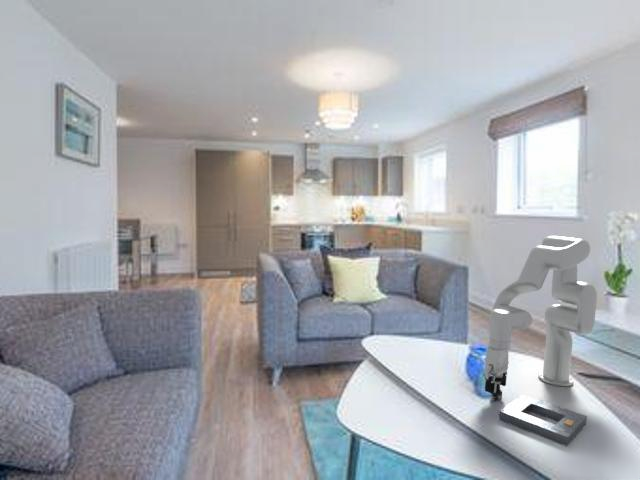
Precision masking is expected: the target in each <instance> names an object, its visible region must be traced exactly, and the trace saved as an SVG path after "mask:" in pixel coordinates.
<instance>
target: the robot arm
mask: <svg viewBox="0 0 640 480" xmlns="http://www.w3.org/2000/svg"><path fill="white" fill-rule="evenodd" d="M590 252H591V246H590V244H589V242H588V241H587V240H585V239H582V238H579V237H578V238H575V237H569V236H568V237H567V236H559V235H549V236H545V237H544V238H543V239H542V242H541V245H537V246H534V247H533V248H531V250H530V252H529V254H528V256H527V258H526V261H525V263H524V265H523V267H522V269H521V271H520V274H519V276H518V278H517V279H516V280H515V281H513V282H511V283H509V284H508V285H507V286H506V287H504V288H503V289H502V291H501V290H500V293H498V295H497V298H496V299H495V302H494V304H493V307H492V310H491V311H490V313H489V323H488V334H487V335H488V338H487V350H486V354H485V362H484V368H483V372H484V381H485V382H484V391H485V392H486V393H490V394H491V393H492V394H493V393H494V387H495V383H494V380H495V378H496V377H497V376H499V375H501V374H503V375H505V379H504V381H503V382H500V386H503V387H505V386H506V385H507V375H508V368H509V351H510V350H511V340H512V339H511V337H512V331H513V330H514V331H522V330H527V329H528V328H530V327H531V325H532V323H533V317H532V315H531V313H530V312H529V311H527V310H525V309H523V308H519V307H515V306H511V305H510V304H511V303H512V301H513V300H514V299H515V298H517V297H518V296H521V295H524V294H528V293H532V292H537V291H539V290H541V289H542V288H543V285H544V283H545V281H546V279H547V275H548V274H549V271H550V270H552V282H551V283H552V284H551V297H552V298H553V299H554V300H556V301H557V302H561V303H564V304H560V303H554V304H550V305H548V306H547V308H546V310H545V312H544V318H545V320H544V321H545V328H546V330H545V331H546V332H545V346H544V358H543V371H541V372H540V371H539V373H538V378H539V379H540V380H541V381H542V382H544V383H546V384H549V385H552V386H557V387H571V386H573V385H574V380H573V378H572V377H571V376H570V371H571V363H572V351H573V337H572V334H571V333H574V334H578V335H582V336H583V335H585V336H586V335H589V334H591V332H592V331H593V329H594V326H595V321H596V310H597V301H598V294H597V289H596V287H595V286H594V285H593V284H592V283H589V282H586V281H579V280H578V265H579V264H581V263H583V262H584V261H585V260H586V259H587V258H588V257H589V256H590ZM565 303H566V304H570V305H573V306H569V305H565ZM574 306H576V307H574ZM570 332H571V333H570ZM492 373H494V374H492ZM490 376H493V377H492V379H491V377H490Z"/></svg>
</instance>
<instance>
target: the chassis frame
mask: <svg viewBox="0 0 640 480" xmlns="http://www.w3.org/2000/svg"><path fill="white" fill-rule="evenodd" d="M530 413H534V414H536V415H538V416H542V417H545V418H547V419H550V420H552V421H555V422H557V423H556V424H555V423H553V422H549V421H546V420H544V419H542V418H540V417H536V416H533V415H530ZM499 419H500V420H499ZM498 420H499V421H501V420H502V422H504V421H505V422H504V423H506V422H507V424H509V423H510V425H511V424H512V426H514V427H516V426H517V428H519V429H522V430H524V431H527V432H530V433H532V434H535V435H536V436H537V435H538V436H540V437H542V438H544V439H547V440H550V441H551V442H552V441H553V442H554V443H557V444H560V445H562V446H565V447H568V446H569V445H570V443H572V441H573V440H574V439H575V438H576V437H577V436H578V435H579V433H581V431H582V430H584V428H585V427H586V425H587V422H588V421H587V420H588V416H587V415H584V414H582V413H579V412H576V411H574V410H570V409H567V408H564V407H561V406H558V405H555V404H553V403H550V402H547V401H544V400H541V399H538V398H534V397H532V396H529V395H526V394H524V393H522V394H521V395H519V396H518V397H516V398H515V399H513V401H511V402H509V403H508V404H507V405H505V406H504V407H503V408H502V409H500V410H499V411H498Z"/></svg>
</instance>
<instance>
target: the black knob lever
mask: <svg viewBox="0 0 640 480" xmlns="http://www.w3.org/2000/svg"><path fill="white" fill-rule="evenodd" d="M492 374H494V373H492ZM490 377H491V379H492V377H493V376H490ZM504 379H505V375H503V374H501V375H499V376H497V377H496V378H495V380H494V383H495V387H494V393H493V394H492V393H490V401H491V402H493V401H494V402H497V401H498V400H499V401H500V400H501V399H502V398H503V391H502V390H501V385H500V382H503V381H504Z"/></svg>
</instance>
